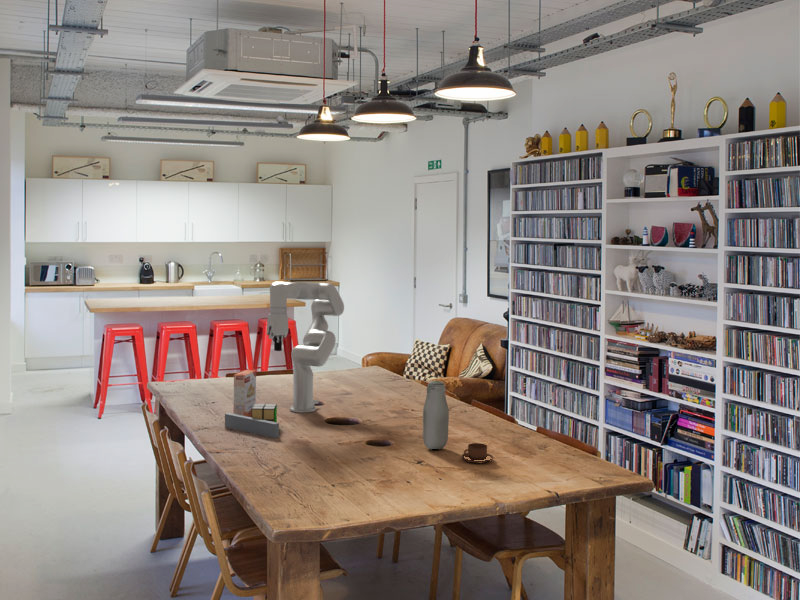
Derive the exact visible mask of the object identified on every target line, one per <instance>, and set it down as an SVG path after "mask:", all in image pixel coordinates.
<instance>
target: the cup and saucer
mask: <svg viewBox="0 0 800 600" xmlns="http://www.w3.org/2000/svg"><path fill="white" fill-rule="evenodd" d="M464 456H465V457H469V458H470V459H471V460H468V459H465V458H464ZM487 456H490V457H491V458H492V459H490V460H491V461H492V460H493V458H494V456H493V455H492V454H491V453H488V445H487V444H485V443H480V442H478V443H477V442H476V443H475V442H474V443H469V444H468V445H467V449H465V450H464V451H463V453H462V455H461V459H463V460H464V461H465V460H466V461H465V462H468V461H470V462H469V463H471V462H487V461H489V462H491V461H490V460H485V461H474V460H484V459H486V457H487ZM487 463H488V462H487Z"/></svg>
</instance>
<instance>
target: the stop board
mask: <svg viewBox="0 0 800 600" xmlns="http://www.w3.org/2000/svg"><path fill="white" fill-rule="evenodd" d="M224 428H227V429H231V430H236V431H241V432H244V433H245V432H246V433H249V434H254V435H260V436H263V437H268V438H273V439H277V438H280V423H279V422H277V423H276V422H271V421H266V420H262V419H257V418H252V417H251V416H250V417H247V416H242V415H237V414H233V413H231V412H226V413H224Z"/></svg>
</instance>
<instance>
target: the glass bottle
mask: <svg viewBox="0 0 800 600" xmlns="http://www.w3.org/2000/svg"><path fill="white" fill-rule="evenodd" d="M449 413H450V411H449V406H448V402H447V397H446V386H445V383H444V382H442V381H440V380H433V381H432V380H431V381H430V382H429V383H428V384H427V386H426V398H425V400H424V404H423V408H422V439H423V440H422V441H423V443H424V446H425V447H426V448H427V449H429V450H432V449H439V450H442V449H444V448H445V447H446V445H447V443H448V440H449V420H450V418H449V417H450V414H449Z"/></svg>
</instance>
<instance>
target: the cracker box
mask: <svg viewBox="0 0 800 600" xmlns="http://www.w3.org/2000/svg"><path fill="white" fill-rule="evenodd" d="M256 391H257V370H253V369H252V370H251V369H245V370H241V371H240V372H238V373H234V374H233V410H232V411H233V414H237V415H242V416H247V417H251V412H252V408H253V406H254V404H257V403H256V400H257V398H256V397H257V395H256V394H257V392H256Z"/></svg>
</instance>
